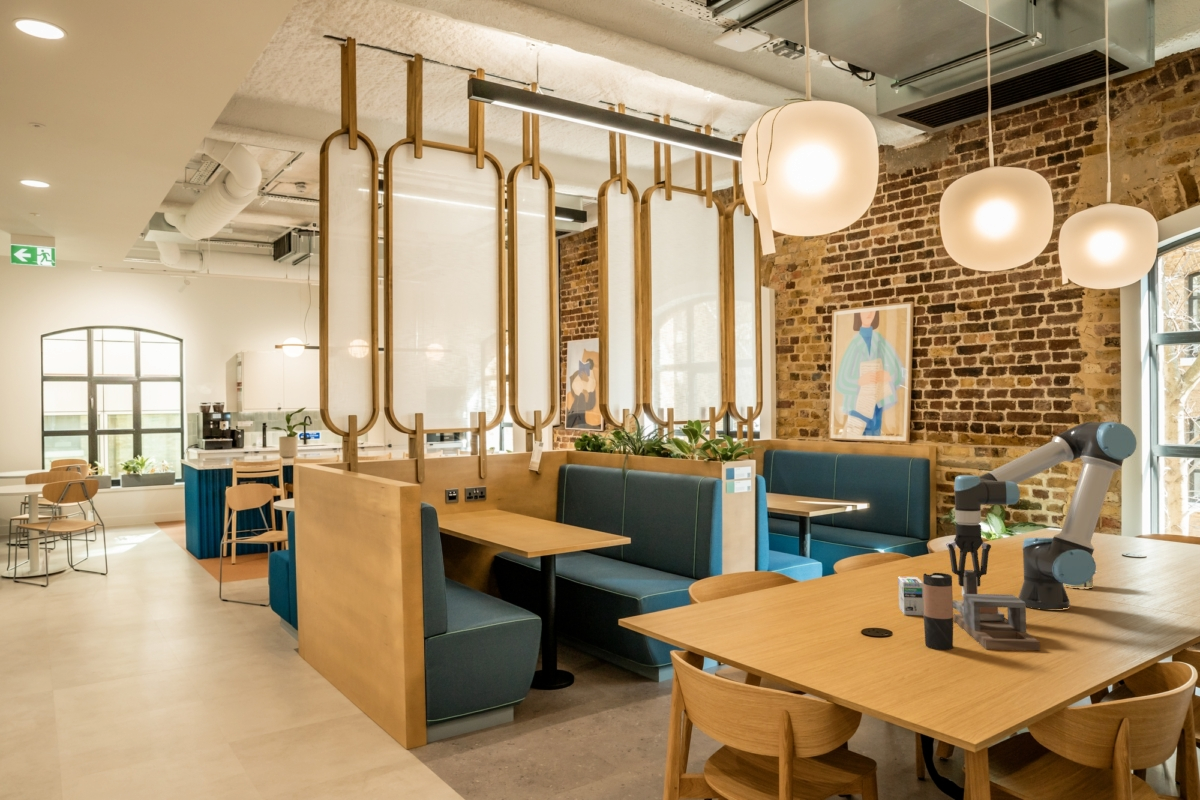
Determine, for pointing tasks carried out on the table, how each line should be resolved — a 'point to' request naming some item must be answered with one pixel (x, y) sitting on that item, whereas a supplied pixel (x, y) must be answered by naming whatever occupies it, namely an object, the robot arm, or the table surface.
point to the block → (988, 610)
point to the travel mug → (938, 611)
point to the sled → (973, 590)
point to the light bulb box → (911, 595)
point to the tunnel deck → (997, 623)
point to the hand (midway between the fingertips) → (969, 596)
